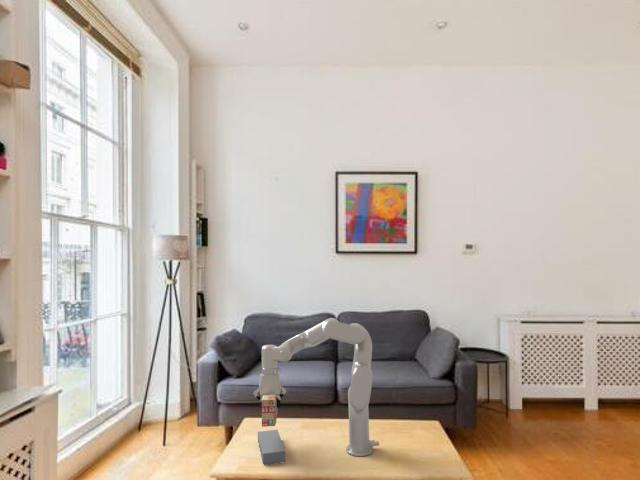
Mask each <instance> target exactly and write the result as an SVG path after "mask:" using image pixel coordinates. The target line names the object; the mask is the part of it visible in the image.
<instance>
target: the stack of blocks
mask: <svg viewBox="0 0 640 480" xmlns="http://www.w3.org/2000/svg"><path fill="white" fill-rule="evenodd" d="M278 412H279V409H278V408H277V396H276V394H264V395H263V397H262V409H261V427H262V428H263V427H276V424H277V419H278Z"/></svg>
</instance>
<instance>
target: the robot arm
mask: <svg viewBox="0 0 640 480" xmlns="http://www.w3.org/2000/svg"><path fill="white" fill-rule="evenodd" d="M329 339H331V340H335V341H338V342H341V343H346V344H350V345H354V351H353V352H354V353H353V360H352V367H351V371H350V373H351V382H350V385H349V388H348V389H347V401H348V402H347V403H348V438H349V439H348V440H349V444H348V445H346V453H347V454H349V455H352V456H355V457H365V456H366V457H367V456H369V455H371V454H372V453H373V451H374V449H373V447H374V446H375V447H376V446H377V447H378V446H380V442H379V441H377V440H376V441H375V439H371V440H370V425H369V423H370V420H369V418H370V417H369V416H370V413H369V412H370V411H369V404H370V400H371V393H372V388H373V387H372V386H373V371H372V359H373V358H372V357H373V342H372V338H371V336H370V333H369V332H368V330H367V329H366V328H365V327H364V326H363V325H361V324H359V323H356V322H352V323H350V324H347V323H344V322H341V321H339V320H338V319H336V318H334V317H329V318H326V319H325V320H323V321H322V322H319V323H317V324H316V325H314V326H312V327H311V328H308V329H307V330H305V331H302V332H301V333H298V334H297V335H295V336H293V337H291V338H289V339H288V340H286V341H284V342H282V343H281V344H280V345H279V346H277V345H276V344H264V345H263V346H262V347H261V373H260V375H259V381H258V382H259V383H258V384H259V385H258V388H257V389H256V390H254V391H253V392H252V393H253V394H252V395H253V396H254V398H256V399H257V400H258V401H259V408H260V409H261V410H262V397H263V395H264V394H276V396H277V408H278V410H279V409H280V407H281V400H282V398H283V397H284V396H285V394H286V393H287V389H286V388H284V387H283V386H282V385H281V378H280V377H281V376H280V374H279V372H280V371H281V367H278V362H283V363H285V362H288V361H290V360H291V359H292V357H293V355H295V354H296V353H298V352H300V351H302V350H304V349H307V348H314V347H317V346H318V345H320V344H322V343H323V342H325V341H327V340H329ZM281 391H282V392H281ZM258 393H259V394H258Z"/></svg>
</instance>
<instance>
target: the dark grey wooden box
mask: <svg viewBox="0 0 640 480" xmlns="http://www.w3.org/2000/svg"><path fill="white" fill-rule="evenodd" d="M258 443H259V445H258V449H259V448H260V449H259V453H260V452H261V454H260V456H261V457H262V458H261V457H260V458H261V462H262V465H263V464H264V465H263V466H266V465H265V464H268V465H274V464H275V463H276V464H282V463H281V462H284V463H286V450H285V446H284V444H283V442H282V439H281V436H280V432H279V431H278V429H270V430H269V429H268V430H261V431H257V444H258Z"/></svg>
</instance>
